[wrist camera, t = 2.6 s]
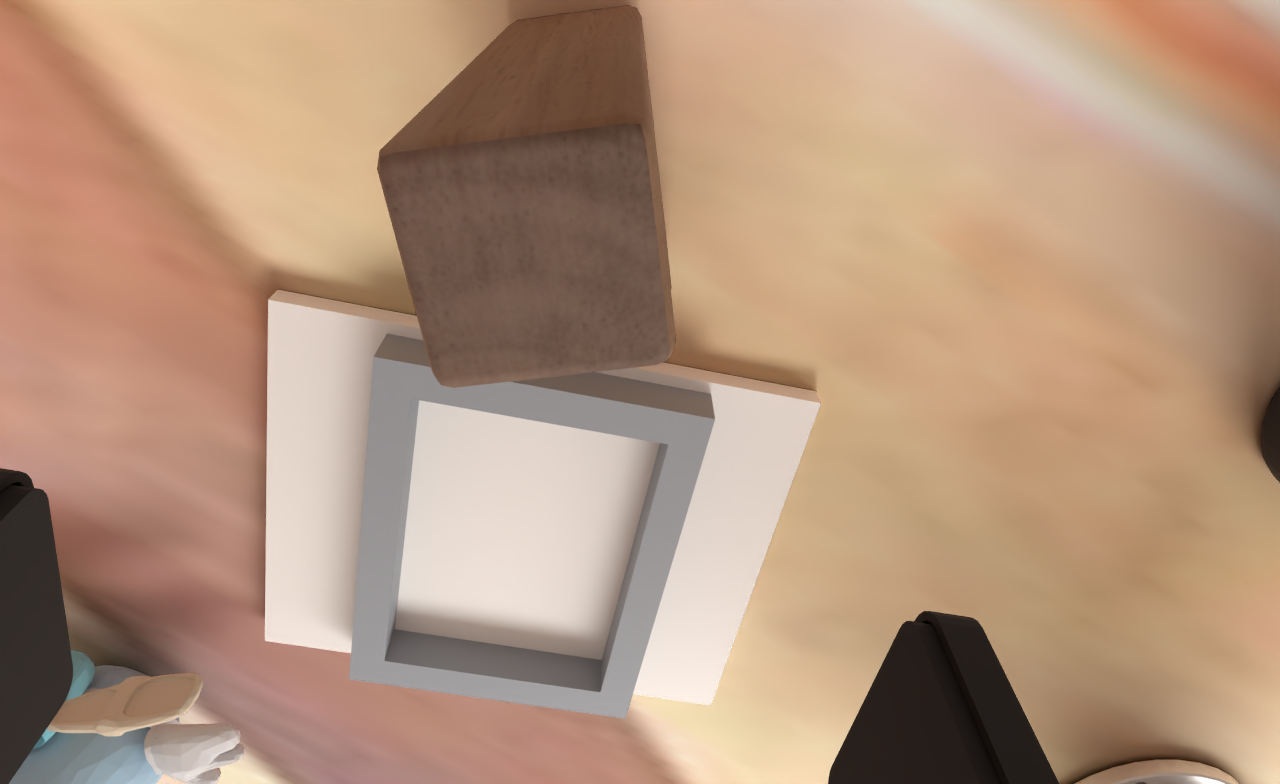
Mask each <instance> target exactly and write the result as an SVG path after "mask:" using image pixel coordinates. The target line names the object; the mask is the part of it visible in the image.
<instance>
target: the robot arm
mask: <svg viewBox="0 0 1280 784" xmlns="http://www.w3.org/2000/svg"><path fill="white" fill-rule="evenodd" d="M72 679H73V663H72V656H71V650H70V643H69V636H68V629H67V623H66V616H65V609H64V602H63V596H62V589H61V582H60V575H59V568H58V562H57V555H56V548H55V541H54V535H53V528H52V521H51V514H50V507H49V501H48V497H47V494H46V493H45V492H44V491H43V490H41V489H36V488H34V486H33V483H32V480H31V478H30V477H29V476H28V475H27V474H26V473H23V472H20V471H14V470H7V469H1V468H0V784H9V783H10V781H11V780H12V778H13V777H14V775H15V774H16V772H17V771H18V769H19V768H20V767H21V765H22V764H23V762H24V761H25V759H26V758H27V756H28V755H29V753H30V752H31V751H32V749H33V748H34V746H35V745H36V743H37V742H38V740H39V739H40V738H41V736H42V735H43V733H44V732H45V730H46V729H47V727H48V726H49V724H50V723H51V722H52V720H53V719H54V717H55V716H56V714H57V713H58V711H59V710H60V708H61V707H62V705H63V704H64V702H65V700H66V698H67V696H68V693H69V691H70V687H71V684H72ZM828 784H1059V782H1058V780H1057V778H1056V776H1055V774H1054V772H1053V770H1052V768H1051V766H1050V764H1049V762H1048V760H1047V758H1046V756H1045V754H1044V752H1043V750H1042V748H1041V746H1040V744H1039V742H1038V740H1037V738H1036V736H1035V734H1034V732H1033V729H1032V727H1031V725H1030V723H1029V721H1028V719H1027V717H1026V715H1025V713H1024V711H1023V709H1022V707H1021V705H1020V703H1019V701H1018V699H1017V697H1016V695H1015V693H1014V691H1013V689H1012V687H1011V685H1010V683H1009V681H1008V679H1007V677H1006V675H1005V673H1004V671H1003V669H1002V666H1001V664H1000V662H999V660H998V658H997V656H996V654H995V652H994V650H993V648H992V646H991V644H990V642H989V640H988V638H987V636H986V634H985V632H984V630H983V628H982V627H981V625H980V624H979V622H978V621H977V620H975V619H973V618H970V617H964V616H957V615H951V614H944V613H938V612H931V611H924V612H922V613H921V614H919V615H918V617H917V618H916V620H915V621H914V622H913V621H906V622H905V623H904V624H903V625H902V626H901V628H900V629H899V631H898V633H897V635H896V637H895V639H894V641H893V643H892V646H891V648H890V650H889V652H888V654H887V656H886V658H885V660H884V662H883V664H882V666H881V668H880V670H879V672H878V674H877V676H876V678H875V680H874V682H873V684H872V686H871V688H870V690H869V692H868V694H867V696H866V698H865V700H864V702H863V704H862V706H861V708H860V710H859V712H858V714H857V716H856V718H855V720H854V722H853V724H852V726H851V729H850V731H849V733H848V735H847V737H846V739H845V741H844V743H843V745H842V747H841V749H840V751H839V753H838V755H837V757H836V759H835V761H834V763H833V765H832V767H831V770H830V774H829V781H828ZM1074 784H1239V783H1238V782H1237V781H1236V780H1235V779H1234V778H1233V777H1232V776H1230V775H1228V774H1227V773H1225V772H1223V771H1221V770H1220V769H1218V768H1215V767H1212V766H1208V765H1205V764H1202V763H1198V762H1191V761H1184V760H1158V759H1157V760H1149V761H1140V762H1133V763H1129V764H1125V765H1121V766H1116V767H1112V768H1110V769H1107V770H1104V771H1101V772H1098V773H1096V774H1093V775H1091V776H1089V777H1087V778H1085V779H1083V780H1081V781H1079V782H1077V783H1074Z"/></svg>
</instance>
